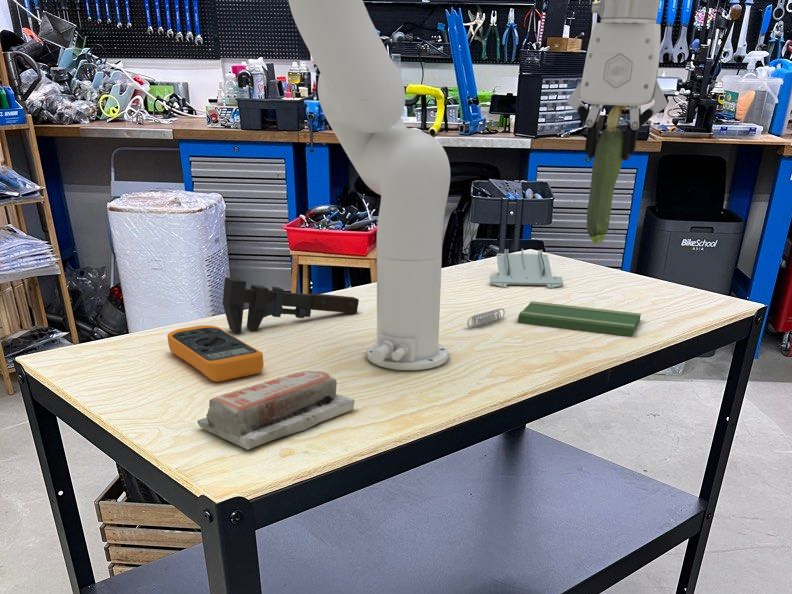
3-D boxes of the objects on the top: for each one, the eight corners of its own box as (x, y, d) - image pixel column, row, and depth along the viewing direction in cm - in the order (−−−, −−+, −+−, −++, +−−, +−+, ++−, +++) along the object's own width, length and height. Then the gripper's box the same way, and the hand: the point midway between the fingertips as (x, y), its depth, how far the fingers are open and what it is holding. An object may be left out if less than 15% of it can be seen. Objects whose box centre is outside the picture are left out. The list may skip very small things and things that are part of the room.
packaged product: (244, 414, 91) (192, 392, 96) (248, 453, 93) (197, 429, 99) (355, 375, 102) (303, 358, 108) (356, 410, 105) (305, 391, 110)
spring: (471, 330, 137) (472, 318, 135) (462, 327, 138) (463, 316, 137) (508, 319, 142) (509, 308, 141) (499, 317, 144) (500, 306, 143)
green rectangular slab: (632, 336, 135) (633, 327, 134) (517, 322, 141) (518, 314, 140) (639, 321, 143) (641, 312, 142) (531, 308, 149) (531, 300, 148)
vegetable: (576, 241, 126) (595, 97, 116) (599, 239, 127) (619, 97, 117) (593, 246, 122) (614, 99, 112) (616, 245, 124) (639, 99, 114)
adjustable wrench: (353, 339, 146) (226, 332, 131) (346, 336, 148) (220, 328, 133) (361, 293, 142) (231, 280, 128) (353, 290, 144) (225, 277, 130)
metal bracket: (487, 243, 171) (557, 244, 170) (485, 268, 175) (553, 269, 175) (491, 278, 161) (565, 279, 161) (489, 303, 165) (560, 305, 165)
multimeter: (215, 342, 129) (213, 321, 127) (267, 374, 116) (265, 351, 114) (165, 351, 124) (161, 330, 122) (212, 385, 112) (210, 362, 110)
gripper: (563, 9, 109) (547, 156, 118) (690, 10, 104) (663, 164, 113) (574, 12, 115) (558, 152, 124) (695, 14, 110) (669, 159, 119)
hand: (608, 156), depth 119 cm, fingers closed on vegetable, 4 cm apart
